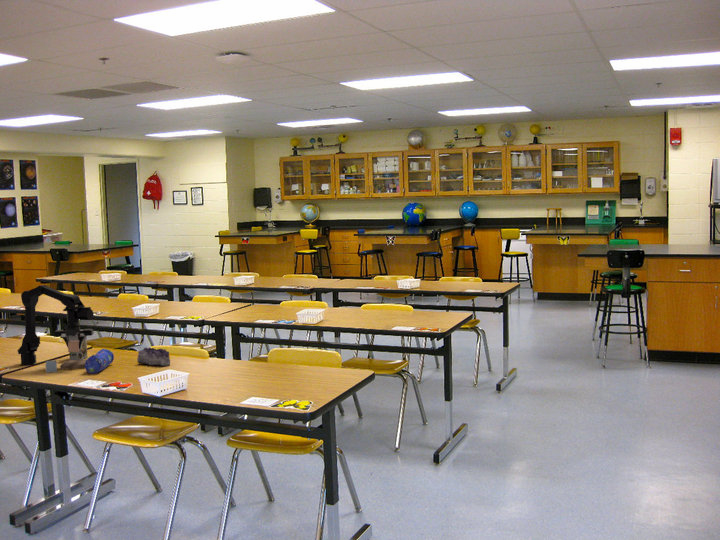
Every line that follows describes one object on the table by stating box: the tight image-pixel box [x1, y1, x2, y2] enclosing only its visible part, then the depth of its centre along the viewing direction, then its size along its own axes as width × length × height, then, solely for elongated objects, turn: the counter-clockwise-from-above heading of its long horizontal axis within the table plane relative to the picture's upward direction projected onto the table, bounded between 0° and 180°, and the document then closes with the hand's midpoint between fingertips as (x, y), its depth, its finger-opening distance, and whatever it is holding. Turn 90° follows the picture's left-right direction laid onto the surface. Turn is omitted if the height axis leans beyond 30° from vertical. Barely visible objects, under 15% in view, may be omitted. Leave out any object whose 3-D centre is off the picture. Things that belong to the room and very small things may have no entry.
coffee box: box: [68, 328, 88, 361], centre depth 375 cm, size 9×6×16 cm
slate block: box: [45, 359, 58, 374], centre depth 348 cm, size 5×5×5 cm
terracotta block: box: [67, 341, 81, 353], centre depth 358 cm, size 5×5×5 cm
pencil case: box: [84, 348, 115, 375], centre depth 351 cm, size 22×9×10 cm, turn 3°
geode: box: [137, 347, 171, 368], centre depth 363 cm, size 20×12×10 cm, turn 63°
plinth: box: [59, 359, 87, 370], centre depth 358 cm, size 12×12×2 cm
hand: (74, 349), depth 358 cm, fingers closed on terracotta block, 5 cm apart
